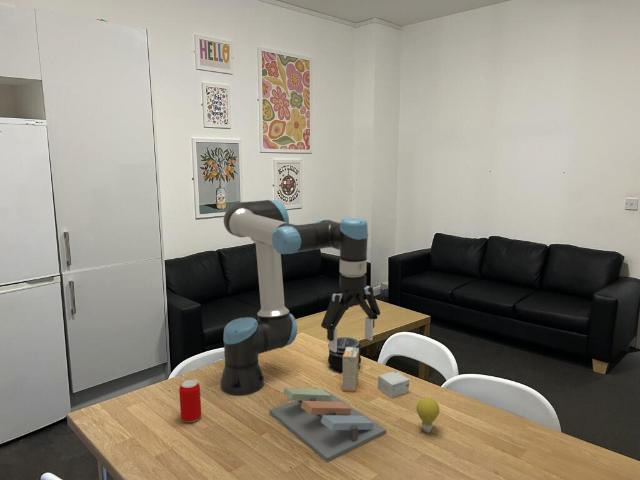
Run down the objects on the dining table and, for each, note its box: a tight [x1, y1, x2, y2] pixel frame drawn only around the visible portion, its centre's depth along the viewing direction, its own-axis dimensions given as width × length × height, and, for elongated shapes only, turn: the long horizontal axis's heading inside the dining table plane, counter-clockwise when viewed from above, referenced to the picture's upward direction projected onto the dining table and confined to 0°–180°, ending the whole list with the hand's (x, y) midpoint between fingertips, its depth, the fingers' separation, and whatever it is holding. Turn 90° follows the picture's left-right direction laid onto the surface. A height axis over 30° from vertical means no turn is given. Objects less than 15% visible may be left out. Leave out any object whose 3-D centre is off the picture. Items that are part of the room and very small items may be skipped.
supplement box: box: [341, 347, 359, 393], centre depth 168 cm, size 8×5×13 cm, turn 168°
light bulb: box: [416, 397, 440, 433], centre depth 142 cm, size 7×7×10 cm
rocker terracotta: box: [301, 401, 353, 415], centre depth 146 cm, size 6×16×2 cm, turn 127°
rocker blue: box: [321, 415, 374, 431], centre depth 138 cm, size 6×16×2 cm, turn 127°
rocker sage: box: [282, 387, 332, 401], centre depth 153 cm, size 6×16×2 cm, turn 127°
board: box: [269, 389, 387, 463], centre depth 146 cm, size 30×22×5 cm
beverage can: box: [178, 379, 202, 423], centre depth 148 cm, size 6×6×12 cm
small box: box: [377, 370, 410, 398], centre depth 166 cm, size 8×8×5 cm
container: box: [327, 336, 362, 374], centre depth 183 cm, size 13×13×10 cm
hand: (351, 344), depth 138 cm, fingers open, 13 cm apart
